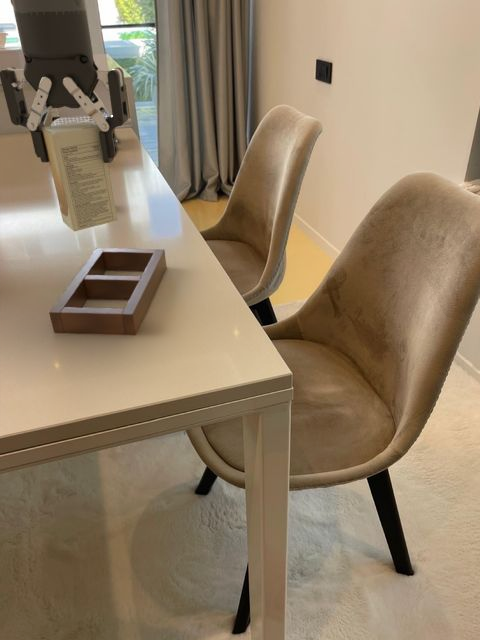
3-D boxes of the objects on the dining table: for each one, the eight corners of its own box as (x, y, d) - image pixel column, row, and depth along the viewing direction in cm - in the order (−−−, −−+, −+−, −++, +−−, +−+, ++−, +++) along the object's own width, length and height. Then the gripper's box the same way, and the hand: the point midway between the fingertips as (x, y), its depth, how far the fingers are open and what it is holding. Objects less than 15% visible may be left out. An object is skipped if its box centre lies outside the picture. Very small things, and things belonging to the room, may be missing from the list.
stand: (56, 343, 78) (48, 312, 76) (101, 275, 96) (96, 247, 93) (137, 345, 78) (132, 314, 75) (167, 276, 96) (164, 249, 93)
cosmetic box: (105, 212, 77) (90, 118, 70) (118, 221, 74) (104, 125, 67) (60, 222, 74) (39, 125, 67) (71, 232, 71) (51, 132, 64)
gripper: (124, 5, 63) (141, 154, 73) (0, 5, 64) (33, 152, 73) (105, 8, 57) (127, 170, 66) (-32, 8, 58) (9, 169, 67)
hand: (78, 160), depth 70 cm, fingers closed on cosmetic box, 7 cm apart
